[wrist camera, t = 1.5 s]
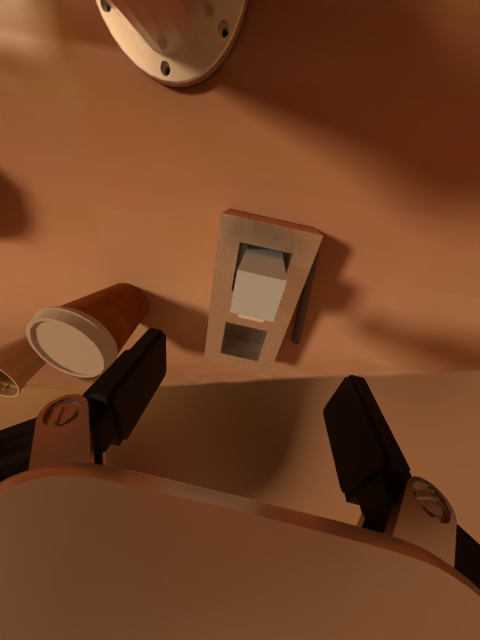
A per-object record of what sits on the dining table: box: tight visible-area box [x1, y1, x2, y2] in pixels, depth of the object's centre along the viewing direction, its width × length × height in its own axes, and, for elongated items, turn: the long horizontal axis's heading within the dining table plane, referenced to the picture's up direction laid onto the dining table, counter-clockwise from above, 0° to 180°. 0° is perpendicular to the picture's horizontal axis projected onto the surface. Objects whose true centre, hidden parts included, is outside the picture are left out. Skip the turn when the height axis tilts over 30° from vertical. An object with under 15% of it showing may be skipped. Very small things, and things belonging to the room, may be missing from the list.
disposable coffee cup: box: [26, 283, 148, 378], centre depth 27 cm, size 10×10×12 cm
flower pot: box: [0, 336, 47, 397], centre depth 38 cm, size 9×9×9 cm
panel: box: [204, 209, 323, 375], centre depth 27 cm, size 20×10×5 cm, turn 169°
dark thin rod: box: [293, 248, 319, 344], centre depth 28 cm, size 15×1×1 cm, turn 179°
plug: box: [230, 244, 287, 322], centre depth 21 cm, size 5×4×10 cm
